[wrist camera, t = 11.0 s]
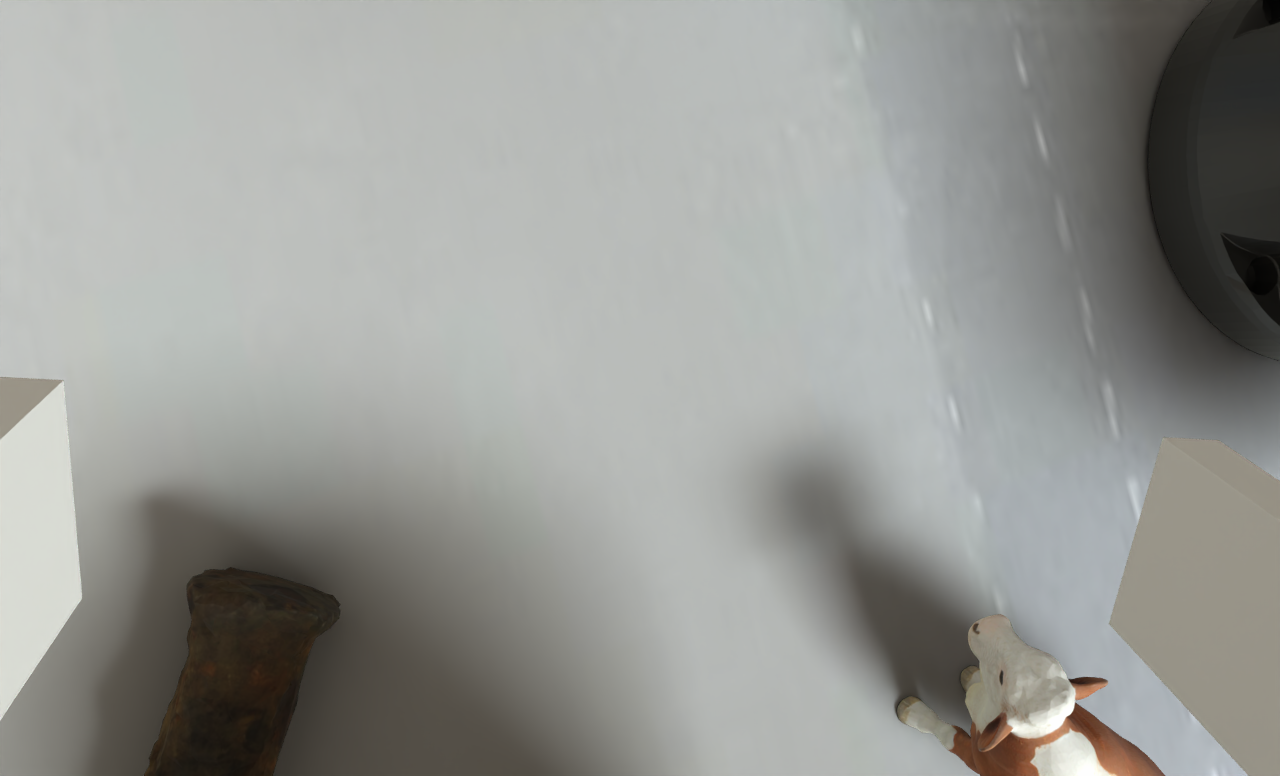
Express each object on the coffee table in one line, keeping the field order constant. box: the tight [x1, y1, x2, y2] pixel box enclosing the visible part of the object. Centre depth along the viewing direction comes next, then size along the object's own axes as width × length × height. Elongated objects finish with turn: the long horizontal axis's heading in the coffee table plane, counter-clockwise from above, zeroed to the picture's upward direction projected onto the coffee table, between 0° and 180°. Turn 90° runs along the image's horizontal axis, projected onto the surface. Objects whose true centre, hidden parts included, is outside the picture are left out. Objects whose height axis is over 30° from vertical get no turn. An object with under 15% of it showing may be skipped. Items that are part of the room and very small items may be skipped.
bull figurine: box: [897, 614, 1165, 776], centre depth 35 cm, size 4×13×8 cm, turn 45°
